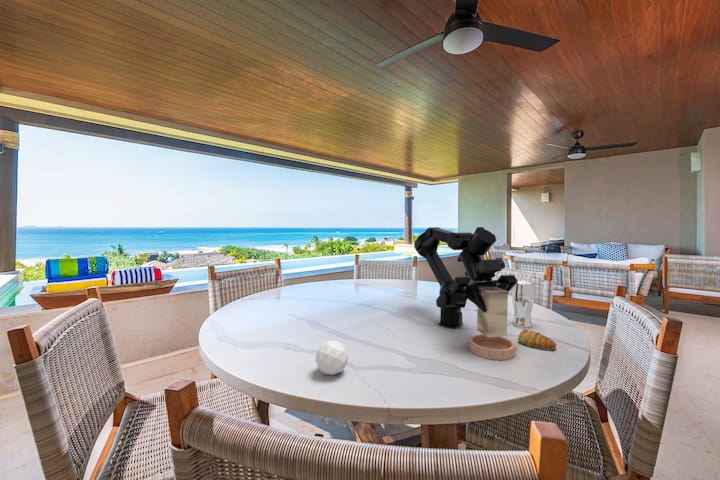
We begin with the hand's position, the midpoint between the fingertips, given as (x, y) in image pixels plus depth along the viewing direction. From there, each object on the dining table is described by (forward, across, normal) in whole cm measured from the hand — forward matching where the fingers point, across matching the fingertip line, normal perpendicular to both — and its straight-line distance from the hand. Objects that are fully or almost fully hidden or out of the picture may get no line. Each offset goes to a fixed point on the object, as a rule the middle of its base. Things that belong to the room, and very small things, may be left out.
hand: (495, 310), depth 84 cm
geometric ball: (+10, -45, +6) cm, 47 cm away
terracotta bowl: (+7, 0, +9) cm, 12 cm away
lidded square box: (+4, 0, +6) cm, 7 cm away
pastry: (+6, +15, +11) cm, 20 cm away
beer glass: (-5, +23, +22) cm, 32 cm away
